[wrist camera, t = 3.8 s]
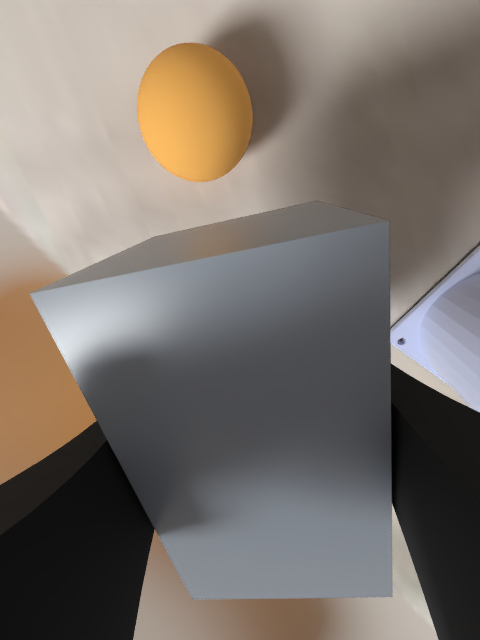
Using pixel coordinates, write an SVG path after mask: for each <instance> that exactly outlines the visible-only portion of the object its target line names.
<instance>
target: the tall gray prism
mask: <svg viewBox="0 0 480 640" xmlns="http://www.w3.org/2000/svg"><path fill="white" fill-rule="evenodd" d="M30 296H31V297H32V299H33V301H34V303H35V305H36V307H37V309H38V311H39V313H40V314H41V316H42V318H43V320H44V322H45V324H46V326H47V328H48V329H49V331H50V333H51V335H52V337H53V339H54V341H55V343H56V344H57V346H58V348H59V350H60V352H61V353H62V356H63V357H64V359H65V361H66V363H67V365H68V367H69V369H70V371H71V373H72V375H73V376H74V378H75V380H76V382H77V384H78V386H79V388H80V390H81V391H82V393H83V395H84V397H85V399H86V401H87V403H88V405H89V406H90V408H91V410H92V412H93V414H94V416H95V418H96V420H97V421H98V423H99V425H100V427H101V429H102V431H103V433H104V435H105V436H106V438H107V440H108V442H109V444H110V446H111V448H112V450H113V452H114V453H115V455H116V457H117V459H118V461H119V463H120V465H121V467H122V468H123V470H124V472H125V474H126V476H127V478H128V480H129V482H130V483H131V485H132V487H133V489H134V491H135V493H136V495H137V497H138V498H139V500H140V502H141V504H142V506H143V508H144V510H145V512H146V513H147V515H148V517H149V519H150V521H151V523H152V525H153V527H154V529H155V530H156V532H157V534H158V536H159V538H160V540H161V542H162V544H163V545H164V547H165V549H166V551H167V553H168V555H169V557H170V559H171V560H172V562H173V564H174V566H175V568H176V570H177V572H178V574H179V575H180V577H181V579H182V581H183V583H184V585H185V587H186V589H187V590H188V592H189V594H190V596H191V598H192V599H262V598H263V599H266V598H267V599H271V598H351V597H352V598H355V597H392V474H391V350H390V227H389V220H385V219H382V218H378V217H374V216H371V215H367V214H363V213H360V212H356V211H352V210H349V209H345V208H342V207H338V206H334V205H331V204H327V203H323V202H320V201H313V202H309V203H304V204H300V205H295V206H291V207H286V208H282V209H277V210H273V211H268V212H263V213H259V214H254V215H250V216H245V217H241V218H236V219H232V220H227V221H223V222H218V223H214V224H209V225H205V226H200V227H196V228H191V229H187V230H182V231H178V232H173V233H169V234H164V235H160V236H155V237H152V238H150V239H148V240H146V241H144V242H142V243H139V244H137V245H135V246H133V247H131V248H128V249H126V250H124V251H122V252H120V253H117V254H115V255H113V256H111V257H109V258H107V259H104V260H102V261H100V262H98V263H96V264H93V265H91V266H89V267H87V268H85V269H82V270H80V271H78V272H76V273H74V274H71V275H69V276H67V277H65V278H63V279H61V280H58V281H56V282H54V283H52V284H50V285H47V286H46V287H43V288H41V289H39V290H37V291H34V292H33V293H30Z"/></svg>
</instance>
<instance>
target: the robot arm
mask: <svg viewBox="0 0 480 640" xmlns="http://www.w3.org/2000/svg"><path fill="white" fill-rule="evenodd" d="M400 338H403V340H402V341H401V342H398V340H399V339H400ZM390 343H391V344H393V345H394V346H395V347H397V348H398V349H400V350H401V351H402V352H404V353H405V354H406V355H408V356H409V357H411V358H412V359H413V360H415V361H416V362H418V363H419V364H420V365H422V366H423V367H425V368H426V369H427V370H429V371H430V372H431V373H433V374H434V375H436V376H437V377H438V378H440V379H441V380H443V381H444V382H445V383H447V384H448V385H450V386H451V387H452V388H453V389H454V390H455V392H456V393H457V394H458V395H459V396H460V397H461V398H462V399H463V400H464V401H465V402H466V403H467V404H468V406H469V407H470V408H469V407H467V406H465V405H463V404H461V403H459V402H457V401H455V400H453V399H451V398H449V397H447V396H445V395H443V394H441V393H439V392H438V391H436V390H434V389H432V388H430V387H429V386H427V385H425V384H423V383H421V382H420V381H418V380H416V379H415V378H413V377H411V376H410V375H408V374H406V373H405V372H403V371H402V370H400V369H399V368H397V367H395V366H394V365H392V364H391V474H392V504H393V507H394V510H395V512H396V515H397V518H398V521H399V524H400V526H401V529H402V532H403V535H404V538H405V541H406V543H407V546H408V549H409V552H410V555H411V558H412V561H413V564H414V567H415V570H416V573H417V576H418V578H419V581H420V584H421V587H422V590H423V593H424V596H425V599H426V602H427V606H428V609H429V612H430V615H431V618H432V621H433V624H434V627H435V630H436V633H437V636H438V639H439V640H480V245H479V246H478V247H477V248H476V249H475V250H474V251H473V252H472V253H471V254H470V255H469V256H468V257H467V258H465V259H464V260H463V261H462V262H461V263H460V264H459V265H458V266H457V267H456V268H455V269H454V270H453V271H452V272H451V273H450V274H448V275H447V276H446V277H445V278H444V279H443V280H442V281H441V282H440V283H439V284H438V285H437V286H436V287H435V288H434V289H432V290H431V291H430V292H429V293H428V294H427V295H426V296H425V297H424V298H423V299H422V300H421V301H420V302H419V303H418V304H417V305H415V306H414V307H413V308H412V309H411V310H410V311H409V312H408V313H407V314H406V315H405V316H404V317H403V318H402V319H401V320H400V321H398V322H397V323H396V324H395V325H394V326H393V327H392V328H391V329H390ZM153 533H154V527H153V525H152V523H151V521H150V519H149V517H148V515H147V513H146V512H145V510H144V508H143V506H142V504H141V502H140V500H139V498H138V497H137V495H136V493H135V491H134V489H133V487H132V485H131V483H130V482H129V480H128V478H127V476H126V474H125V472H124V470H123V468H122V467H121V465H120V463H119V461H118V459H117V457H116V455H115V453H114V452H113V450H112V448H111V446H110V444H109V442H108V440H107V438H106V436H105V435H104V433H103V431H102V429H101V427H100V425H99V423H98V421H96V422H94V423H93V424H92V425H91V426H89V427H88V428H87V429H86V430H84V431H83V432H82V433H81V434H79V435H78V436H76V437H75V438H74V439H72V440H71V441H70V442H68V443H67V444H65V445H64V446H62V447H61V448H59V449H58V450H56V451H55V452H53V453H52V454H50V455H49V456H47V457H46V458H44V459H43V460H41V461H40V462H38V463H36V464H35V465H33V466H31V467H30V468H28V469H26V470H25V471H23V472H21V473H20V474H18V475H16V476H15V477H13V478H11V479H10V480H8V481H7V482H5V483H3V484H1V485H0V640H133V636H134V630H135V625H136V619H137V613H138V608H139V602H140V596H141V590H142V585H143V581H144V576H145V571H146V565H147V560H148V556H149V551H150V547H151V542H152V538H153Z"/></svg>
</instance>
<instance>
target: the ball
mask: <svg viewBox="0 0 480 640" xmlns="http://www.w3.org/2000/svg"><path fill="white" fill-rule="evenodd" d="M137 113H138V121H139V125H140V130H141V133H142V136H143V139H144V141H145V143H146V145H147V147H148V149H149V150H150V152H151V154H152V155H153V156H154V158H155V159H156V160H157V161H158V162H159V163H160V164H161V165H162V166H163V167H164V168H165V169H166V170H167V171H169V172H170V173H172V174H173V175H175V176H177V177H179V178H182V179H185V180H188V181H193V182H206V181H211V180H215V179H217V178H220V177H222V176H224V175H225V174H227V173H228V172H230V171H231V170H232V169H233V168H234V167H235V166H236V165H237V164H238V163H239V161H240V160H241V158H242V157H243V155H244V153H245V151H246V149H247V146H248V144H249V141H250V137H251V132H252V124H253V113H252V104H251V99H250V95H249V92H248V89H247V87H246V84H245V82H244V80H243V78H242V76H241V75H240V73H239V71H238V70H237V68H236V67H235V66H234V65H233V63H232V62H231V61H230V60H229V59H228V58H226V57H225V56H224V55H223V54H221V53H220V52H219V51H217V50H215V49H213V48H211V47H209V46H206V45H203V44H199V43H182V44H177V45H174V46H171V47H169V48H167V49H166V50H164V51H162V52H161V53H160V54H159V55H158V56H156V58H155V59H154V60H153V61H152V62H151V63H150V65H149V66H148V68H147V69H146V71H145V73H144V76H143V78H142V81H141V84H140V87H139V92H138V100H137Z"/></svg>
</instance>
